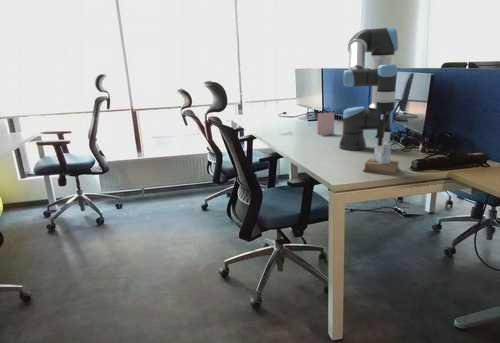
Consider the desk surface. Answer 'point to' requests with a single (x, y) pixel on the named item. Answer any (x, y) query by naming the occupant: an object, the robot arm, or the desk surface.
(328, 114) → the pink rectangular block
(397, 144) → the desk surface
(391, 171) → the plinth
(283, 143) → the desk surface
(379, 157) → the medicine box
